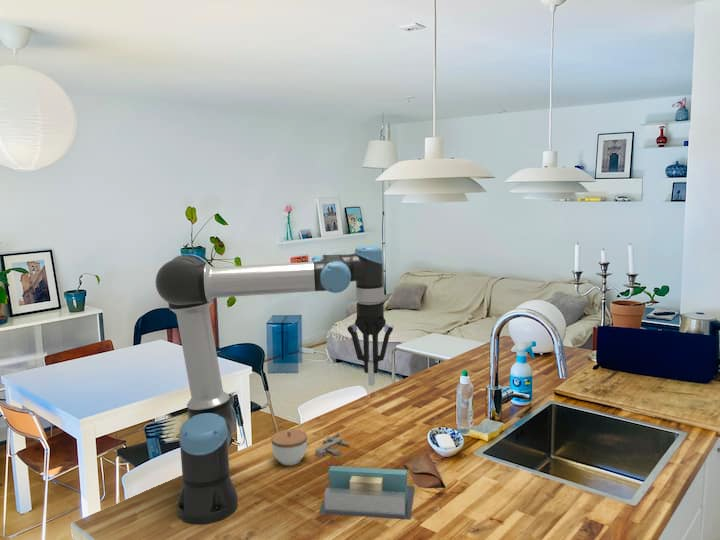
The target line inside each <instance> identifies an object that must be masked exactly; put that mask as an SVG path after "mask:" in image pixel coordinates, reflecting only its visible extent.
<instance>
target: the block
mask: <svg viewBox="0 0 720 540" xmlns="http://www.w3.org/2000/svg"><path fill="white" fill-rule="evenodd" d="M350 489H357V490H373V491H383V478H382V477H364V476H351V479H350Z"/></svg>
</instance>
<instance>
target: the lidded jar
mask: <svg viewBox="0 0 720 540" xmlns="http://www.w3.org/2000/svg"><path fill="white" fill-rule="evenodd" d="M270 438H271V439H270V440H271V441H270V442H271V449H272V454H273V456H274V457H275V458H276V460H277V461H278V462H280V464H281V465H283V466H294V465H298V463H300V462H301V460H302V459H303V458H304V456H305V454H306V452H307V448H308V435H307V433H306V432H305V431H303V430H300V429H293V428H292V429H284V430H280V431H277V432H274V434H273V435H272V436H271V437H270Z"/></svg>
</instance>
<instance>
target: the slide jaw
mask: <svg viewBox="0 0 720 540" xmlns="http://www.w3.org/2000/svg"><path fill="white" fill-rule="evenodd" d="M351 476H364V477H382V478H383V491H390V492H405V502H406V504H407V486H408V469H397V468H396V469H391V468H380V467H379V468H376V467H374V468H373V467H355V466H343V465H342V466H341V465H340V466H339V465H338V466H337V465H330V466H329V469H328V485H329V486H328V488H340V489H350V479H351Z"/></svg>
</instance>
